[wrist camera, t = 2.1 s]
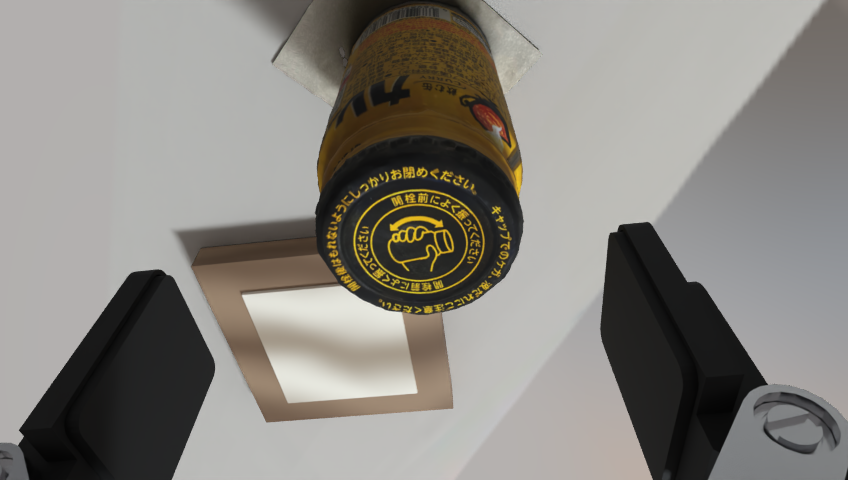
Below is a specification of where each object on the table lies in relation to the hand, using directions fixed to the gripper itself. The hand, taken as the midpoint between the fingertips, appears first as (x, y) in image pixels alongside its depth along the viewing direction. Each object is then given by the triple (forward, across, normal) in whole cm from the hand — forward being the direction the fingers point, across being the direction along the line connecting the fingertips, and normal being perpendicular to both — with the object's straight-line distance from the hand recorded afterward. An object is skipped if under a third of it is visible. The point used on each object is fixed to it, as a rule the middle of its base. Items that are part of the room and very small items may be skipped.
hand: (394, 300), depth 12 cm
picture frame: (+14, +6, +14) cm, 21 cm away
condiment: (+14, 0, -1) cm, 14 cm away
